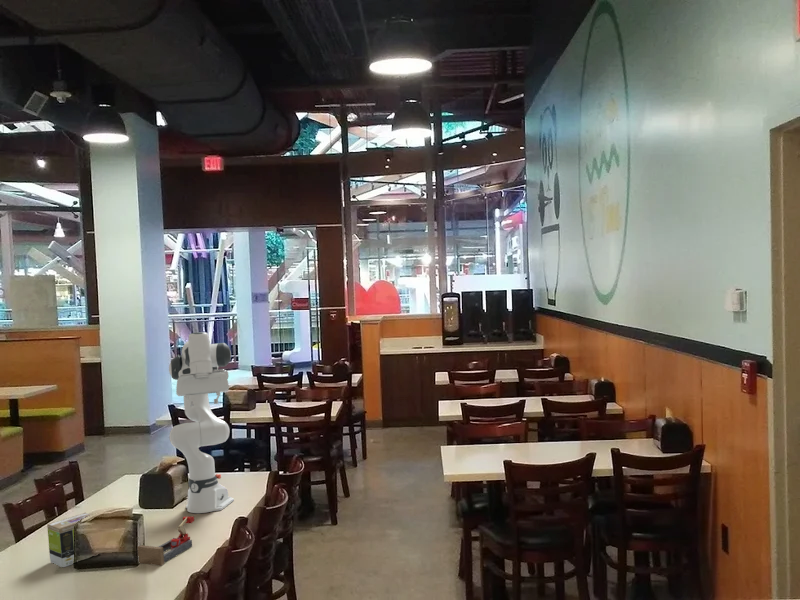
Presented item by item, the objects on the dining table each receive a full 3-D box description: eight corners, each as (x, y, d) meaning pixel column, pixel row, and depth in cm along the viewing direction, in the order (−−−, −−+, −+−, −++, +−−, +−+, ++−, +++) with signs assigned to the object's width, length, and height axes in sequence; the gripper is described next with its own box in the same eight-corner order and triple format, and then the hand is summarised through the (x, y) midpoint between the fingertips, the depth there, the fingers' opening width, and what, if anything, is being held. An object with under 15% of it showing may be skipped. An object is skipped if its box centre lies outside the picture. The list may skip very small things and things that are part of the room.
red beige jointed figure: (169, 552, 269) (168, 526, 269) (187, 539, 282) (186, 514, 282) (178, 552, 268) (176, 527, 268) (195, 539, 282) (194, 514, 281)
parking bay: (172, 544, 277) (171, 529, 277) (193, 546, 273) (193, 531, 273) (138, 563, 259) (137, 546, 259) (161, 565, 256) (160, 549, 256)
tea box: (88, 549, 276) (86, 511, 275) (102, 555, 269) (99, 516, 269) (49, 562, 264) (46, 523, 264) (62, 568, 258) (59, 527, 257)
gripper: (227, 370, 294) (230, 403, 290) (174, 374, 287) (177, 408, 284) (228, 366, 289) (231, 400, 285) (175, 371, 282) (177, 406, 278)
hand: (204, 404), depth 284 cm, fingers open, 8 cm apart
